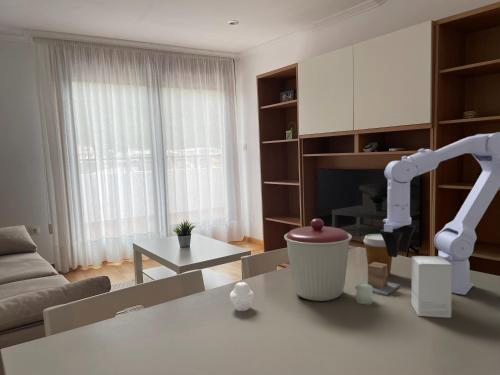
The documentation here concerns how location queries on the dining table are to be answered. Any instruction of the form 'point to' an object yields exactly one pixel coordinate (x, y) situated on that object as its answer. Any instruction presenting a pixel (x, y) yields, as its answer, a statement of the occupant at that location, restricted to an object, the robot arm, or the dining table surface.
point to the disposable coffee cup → (377, 251)
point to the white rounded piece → (241, 296)
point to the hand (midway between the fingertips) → (398, 253)
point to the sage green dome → (364, 294)
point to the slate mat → (386, 289)
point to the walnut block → (377, 275)
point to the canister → (318, 260)
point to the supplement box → (431, 286)
